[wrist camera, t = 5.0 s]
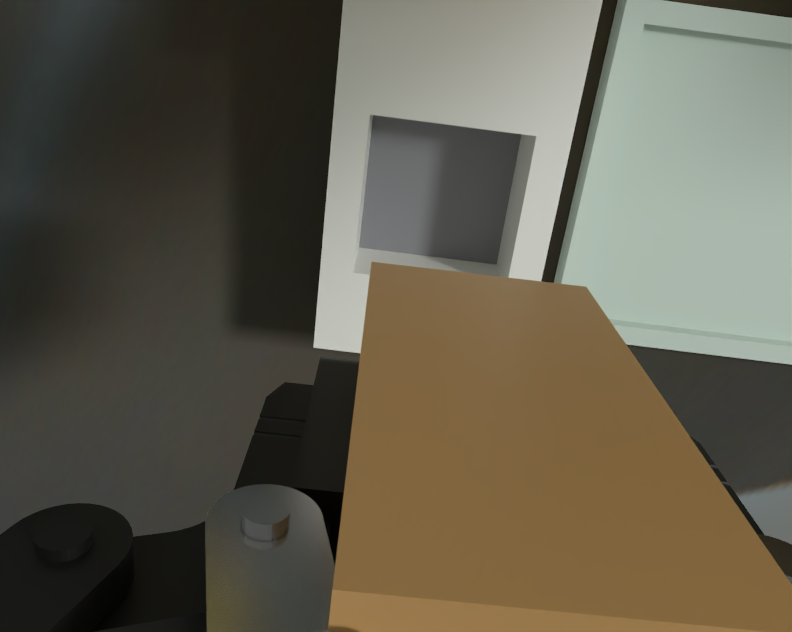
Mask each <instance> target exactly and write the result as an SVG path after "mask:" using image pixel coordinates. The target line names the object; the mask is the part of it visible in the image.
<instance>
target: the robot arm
mask: <svg viewBox="0 0 792 632" xmlns="http://www.w3.org/2000/svg"><path fill="white" fill-rule="evenodd" d="M359 362H360V361H355V360H346V359H337V358H327V357H320V361H319V365H318V370H317V374H316V378H315V382H314V385H305V384H296V383H287V382H285V383H284V384H282V385H281V386H280V387H278V388H277V389H276V390H275V391H273V392H272V393H271V394H270V395H268V396H267V397H266V400H265V403H264V406H263V408H262V411H261V414H260V419H259V420H258V423H257V426H256V428H255V432H254V435H253V437H252V440H251V443H250V445H249V448H248V451H247V454H246V457H245V460H244V463H243V465H242V468H241V471H240V474H239V477H238V480H237V482H236V485H235V488H234V490H233V491H231V492H229V493H227V494H225V495H224V496H222V497H221V498H219V499H218V500H217V501H216V502H215V503H214V504H213V505H212V506H211V508H210V509H209V511H208V513H207V516H206V521H204V522H202V523H200V524H198V525H195V526H193V527H190V528H186V529H183V530H179V531H173V532H167V533H159V534H152V535H144V536H136V537H133V533H132V528H131V526H130V524H129V522H128V521H127V520H126V519H125V518H124V516H122V515H121V514H120V513H118V512H117V511H115V510H112V509H110V508H108V507H104V506H101V505H95V504H84V503H76V504H65V505H60V506H55V507H51V508H47V509H44V510H41V511H39V512H36V513H33V514H31V515H29V516H27V517H25V518H23V519H22V520H20V521H19V522H17V523H16V524H14V525H13V526H11V527H10V528H9V529H7V530H6V531H5V532H3V533H2V534H1V535H0V632H328V624H329V615H330V606H331V597H332V588H333V580H334V571H335V563H336V554H337V546H338V538H339V529H340V521H341V513H342V504H343V496H344V487H345V479H346V471H347V462H348V454H349V445H350V437H351V429H352V420H353V412H354V404H355V395H356V387H357V378H358V370H359ZM690 438H691V439H692V441H693V442H694V444H695V445H696V447H697V448H698V449H699V451H700V452H701V454H702V455H703V457H704V458H705V460H706V461H707V462H708V464H709V465H710V467H711V468H712V470H713V471H714V473H715V474H716V476H717V477H718V478H719V480H720V481H721V483H722V484H723V486H724V487H725V489H726V490H727V492H728V493H729V494H730V496H731V497H732V499H733V500H734V502H735V503H736V505H737V506H738V507H739V509H740V510H741V512H742V513H743V515H744V516H745V518H746V519H747V521H748V522H749V523H750V525H751V526H752V528H753V529H754V531H755V532H756V534H757V535H758V537H759V538H760V539H761V541H762V542H763V544H764V545H765V547H766V548H767V550H768V551H769V552H770V554H771V555H772V557H773V558H774V560H775V561H776V563H777V564H778V566H779V567H780V568H781V570H782V571H783V573H784V574H785V576H786V577H787V579H788V580H789V581H790V583H791V584H792V545H791V544H789V543H787V542H784V541H782V540H779V539H776V538H773V537H770V536H765V535H764V534H763V532H762V531H761V530H760V528H759V527H758V525H757V524H756V522H755V521H754V520H753V518H752V517H751V515H750V514H749V512H748V511H747V509H746V508H745V507H744V505H743V504H742V502H741V501H740V500H739V498H738V497H737V495H736V494H735V492H734V491H733V490H732V488H731V487H730V486H727V484H726V483H727V481H726V480H725V478H724V477H723V475H722V474H721V472H720V471H719V470H718V469H717V468H715V464H714V462H713V461H712V460H711V458H710V457H709V455H708V454H707V453H706V451H705V450H704V448H703V447H702V445H701V444H700V443H699V442H697V441H696V440H695V439H693V438H692V437H691V436H690Z"/></svg>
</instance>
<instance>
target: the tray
mask: <svg viewBox="0 0 792 632" xmlns="http://www.w3.org/2000/svg"><path fill="white" fill-rule="evenodd" d="M554 283H559V284H568V285H576V286H585V287H587V288H588V290H589V291H590V293H591V294H592V296H593V297H594V298H595V300H596V301H597V303H598V304H599V306H600V307H601V309H602V310H603V312H604V313H605V314H606V316H607V317H608V319H609V320H610V322H611V323H612V325H613V326H614V328H615V329H616V330H617V332H618V333H619V335H620V336H621V338H622V339H623V341H624V342H625V343H626V344H628V345H636V346H644V347H652V348H660V349H669V350H677V351H685V352H693V353H701V354H709V355H718V356H726V357H734V358H742V359H750V360H759V361H767V362H775V363H783V364H791V365H792V18H788V17H781V16H773V15H766V14H759V13H751V12H744V11H737V10H729V9H722V8H715V7H707V6H700V5H693V4H685V3H678V2H671V1H664V0H618V1H617V6H616V10H615V15H614V19H613V23H612V28H611V32H610V37H609V41H608V45H607V50H606V54H605V59H604V63H603V68H602V72H601V76H600V81H599V85H598V90H597V94H596V98H595V103H594V107H593V112H592V116H591V120H590V125H589V129H588V134H587V138H586V142H585V147H584V151H583V156H582V160H581V164H580V169H579V173H578V178H577V182H576V187H575V191H574V195H573V200H572V204H571V209H570V213H569V217H568V222H567V226H566V231H565V235H564V239H563V244H562V248H561V253H560V257H559V261H558V266H557V270H556V275H555V279H554Z"/></svg>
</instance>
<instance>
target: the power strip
mask: <svg viewBox="0 0 792 632" xmlns="http://www.w3.org/2000/svg"><path fill="white" fill-rule="evenodd" d="M602 2H603V0H343V8H342V20H341V32H340V43H339V55H338V67H337V78H336V90H335V102H334V113H333V125H332V137H331V148H330V160H329V172H328V183H327V195H326V207H325V218H324V230H323V242H322V253H321V265H320V276H319V288H318V300H317V311H316V323H315V335H314V346H313V348H322V349H330V350H338V351H347V352H355V353H361V345H362V336H363V328H364V320H365V311H366V303H367V295H368V286H369V278H370V269H371V262H379V263H387V264H396V265H405V266H413V267H422V268H430V269H439V270H448V271H456V272H465V273H473V274H482V275H490V276H499V277H508V278H516V279H525V280H533V281H541V280H542V275H543V271H544V266H545V262H546V257H547V252H548V248H549V243H550V239H551V234H552V230H553V225H554V221H555V216H556V211H557V207H558V202H559V198H560V193H561V189H562V184H563V179H564V175H565V170H566V166H567V161H568V157H569V152H570V148H571V143H572V138H573V134H574V129H575V125H576V120H577V116H578V111H579V106H580V102H581V97H582V93H583V88H584V84H585V79H586V75H587V70H588V65H589V61H590V56H591V52H592V47H593V43H594V38H595V33H596V29H597V24H598V20H599V15H600V11H601V6H602Z"/></svg>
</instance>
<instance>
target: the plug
mask: <svg viewBox="0 0 792 632" xmlns="http://www.w3.org/2000/svg"><path fill="white" fill-rule="evenodd" d="M328 632H792V584H791V583H790V581H789V580H788V579H787V577H786V576H785V574H784V573H783V571H782V570H781V568H780V567H779V566H778V564H777V563H776V561H775V560H774V558H773V557H772V555H771V554H770V552H769V551H768V550H767V548H766V547H765V545H764V544H763V542H762V541H761V539H760V538H759V537H758V535H757V534H756V532H755V531H754V529H753V528H752V526H751V525H750V523H749V522H748V521H747V519H746V518H745V516H744V515H743V513H742V512H741V510H740V509H739V507H738V506H737V505H736V503H735V502H734V500H733V499H732V497H731V496H730V494H729V493H728V492H727V490H726V489H725V487H724V486H723V484H722V483H721V481H720V480H719V478H718V477H717V476H716V474H715V473H714V471H713V470H712V468H711V467H710V465H709V464H708V462H707V461H706V460H705V458H704V457H703V455H702V454H701V452H700V451H699V449H698V448H697V447H696V445H695V444H694V442H693V441H692V439H691V438H690V436H689V435H688V433H687V432H686V431H685V429H684V428H683V426H682V425H681V423H680V422H679V420H678V419H677V417H676V416H675V415H674V413H673V412H672V410H671V409H670V407H669V406H668V404H667V403H666V402H665V400H664V399H663V397H662V396H661V394H660V393H659V391H658V390H657V388H656V387H655V386H654V384H653V383H652V381H651V380H650V378H649V377H648V375H647V374H646V373H645V371H644V370H643V368H642V367H641V365H640V364H639V362H638V361H637V359H636V358H635V357H634V355H633V354H632V352H631V351H630V349H629V348H628V346H627V345H626V343H625V342H624V341H623V339H622V338H621V336H620V335H619V333H618V332H617V330H616V329H615V328H614V326H613V325H612V323H611V322H610V320H609V319H608V317H607V316H606V314H605V313H604V312H603V310H602V309H601V307H600V306H599V304H598V303H597V301H596V300H595V298H594V297H593V296H592V294H591V293H590V291H589V290H588V288H587V287H585V286H576V285H568V284H559V283H551V282H542V281H533V280H525V279H516V278H508V277H499V276H490V275H482V274H473V273H465V272H456V271H448V270H439V269H430V268H422V267H413V266H405V265H396V264H387V263H379V262H371V269H370V278H369V286H368V295H367V303H366V311H365V320H364V328H363V336H362V345H361V353H360V362H359V370H358V378H357V387H356V395H355V404H354V412H353V420H352V429H351V437H350V445H349V454H348V462H347V471H346V479H345V487H344V496H343V504H342V513H341V521H340V529H339V538H338V546H337V554H336V563H335V571H334V580H333V588H332V597H331V606H330V615H329V624H328Z"/></svg>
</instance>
